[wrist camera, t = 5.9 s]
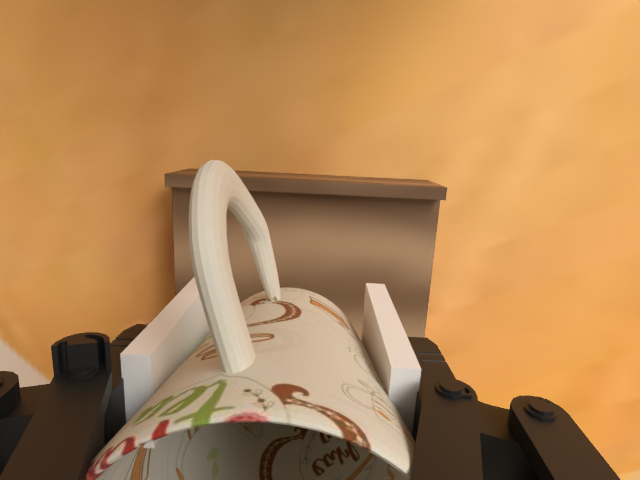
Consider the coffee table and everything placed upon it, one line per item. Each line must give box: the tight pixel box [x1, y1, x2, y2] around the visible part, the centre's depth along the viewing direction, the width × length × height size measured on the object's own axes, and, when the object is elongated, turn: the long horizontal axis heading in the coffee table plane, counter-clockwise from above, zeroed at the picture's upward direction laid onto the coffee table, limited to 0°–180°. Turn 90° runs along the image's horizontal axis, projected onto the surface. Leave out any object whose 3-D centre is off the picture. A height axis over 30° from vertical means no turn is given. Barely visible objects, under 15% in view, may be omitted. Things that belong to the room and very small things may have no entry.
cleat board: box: [165, 169, 447, 340], centre depth 24 cm, size 18×18×20 cm
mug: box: [86, 160, 416, 480], centre depth 12 cm, size 8×13×10 cm, turn 13°
